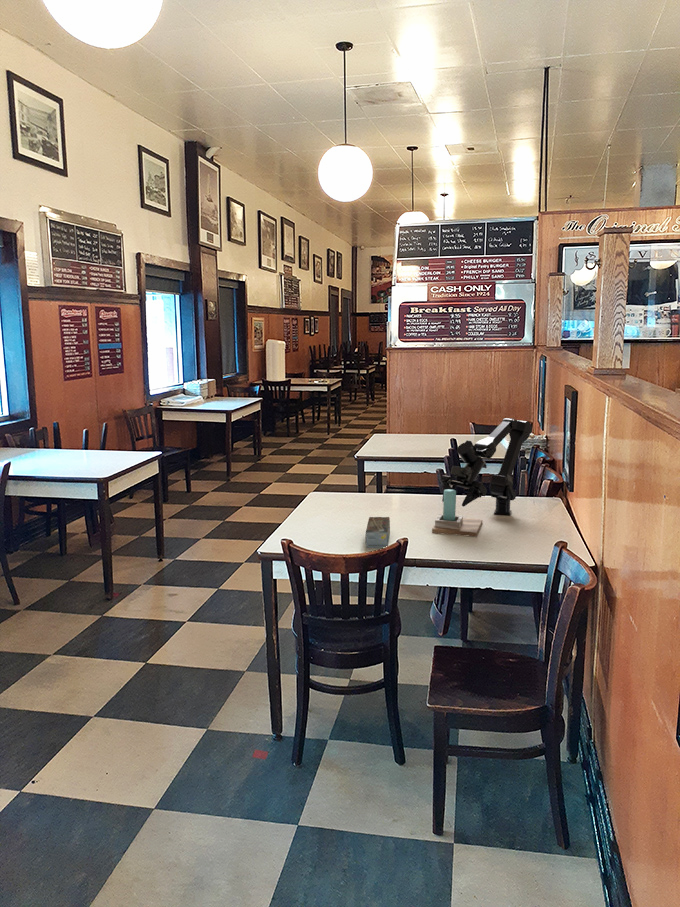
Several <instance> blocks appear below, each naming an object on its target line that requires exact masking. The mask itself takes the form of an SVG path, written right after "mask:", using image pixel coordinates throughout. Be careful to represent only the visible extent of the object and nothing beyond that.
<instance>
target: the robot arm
mask: <svg viewBox="0 0 680 907" xmlns="http://www.w3.org/2000/svg"><path fill="white" fill-rule="evenodd" d="M532 431H533V425H532V423H531V422H530V421H529V420H520V419H519V420H518V419H514V418H508V417H506V418H503V419H502V421H501V422H500V423H499V424H498V425H497V427H496V428H495V429H493V431H492V432H491V433H489V435H487V436H486V437H485V438H482V439H479V440H478V441H477V442H475V443H474V444H473V442H472V441H471V440H466V441H465V442H462V443H461V444H460V445H458V446H457V448H456V452H457V454H458V456H459V457H460V458H461V459H462V461H463V462H464V463H466V464H465V465H464V467H463V466H462V467H461V466H457V465H452V467H451V469H450V470H451V471H450V475H451V476H450V475H445V474H443V475H441V477H440V479H439V481H440V483H441V485H442V486H443V491H444V490H447V489H451V490H455V489H456V488H457V487H459V488H464V489H468V491H467V494H466V495H465V497H464V499H463V501H462V504H461V506H462V507H466V506H467V505H468V504H470V503H472V502H473V501H475V500H477V499H479V498H480V499H481V498H482V497H486V495H487V493H488V488H486V486H485V485H484V484H483V482H482V481H478V480H479V474H480V473H481V470H482V469H487V463H486V462H487V461H485V460H483V459H488V460H489V459H491V458H493V457H494V455H495V454H496V452H497V446H498V445H499V444H501V442H502V441H503V440H504V439H505V438H506V437H507V436H508V435H509V438H510V440H509V443H508V445H507V449H506V452H505V455H504V457H503V461H502V464H501V466H500V469H499V472H498V473H496V474H493V475H492V477H491V480H490V482H489V492H490V497H491V498H494V499H495V509H494V512H493V514H494V515H500V516H501V515H503V516H511V513H512V510H511V501H514V500H516V498H517V492H516V491H515V490H514V489H513V485H514V482H513V478H512V477H513V476H512V475H513V473H514V470H515V467H516V464H517V461H518V458H519V454H520V452H521V449H522V446H523V444H524V443H525V442H526V441H527V440H528V439H529V438H530V436H531V433H532ZM452 475H453V476H454V478H455V480H454V478H453V477H452ZM442 502H444V492H443V495H442Z"/></svg>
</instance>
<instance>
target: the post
mask: <svg viewBox="0 0 680 907" xmlns="http://www.w3.org/2000/svg"><path fill="white" fill-rule="evenodd" d="M443 493H444V502H443V501H442V502H443V507H442V509H443V512H442V515H443V520H446V521H455V516H456V513H457V512H456V511H457V510H456V508H457V507H456V506H457V505H456V504H457V503H456V502H457V490H455V489H453V490H451V489H447V490H444V489H443Z"/></svg>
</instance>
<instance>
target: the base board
mask: <svg viewBox="0 0 680 907" xmlns="http://www.w3.org/2000/svg"><path fill="white" fill-rule="evenodd" d="M482 525H483V519H477V518H465V517H464V516H463V515H455V521H446V520H443V514H438V515H437V516H436V518H435V520H434V525H433V527H432V529H431V530H432V531H431V533H432V534H440V533H444V534H443V535H452V534H457V535H456V536H464V535H469V536H468V537H475V536H476V537H477V536H478V534H479V532H480V530H481V528H482ZM480 527H481V528H480ZM479 529H480V530H479Z"/></svg>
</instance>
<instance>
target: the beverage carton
mask: <svg viewBox="0 0 680 907" xmlns="http://www.w3.org/2000/svg"><path fill="white" fill-rule="evenodd" d="M365 529H366V530H365V547H366V548H367V549H368V548H369V549H384V548H383V547H386V546H388V547H389V541H390V534H391V520H390V516H374V517H373V516H369V518H368V521H367V525H366V528H365Z"/></svg>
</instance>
